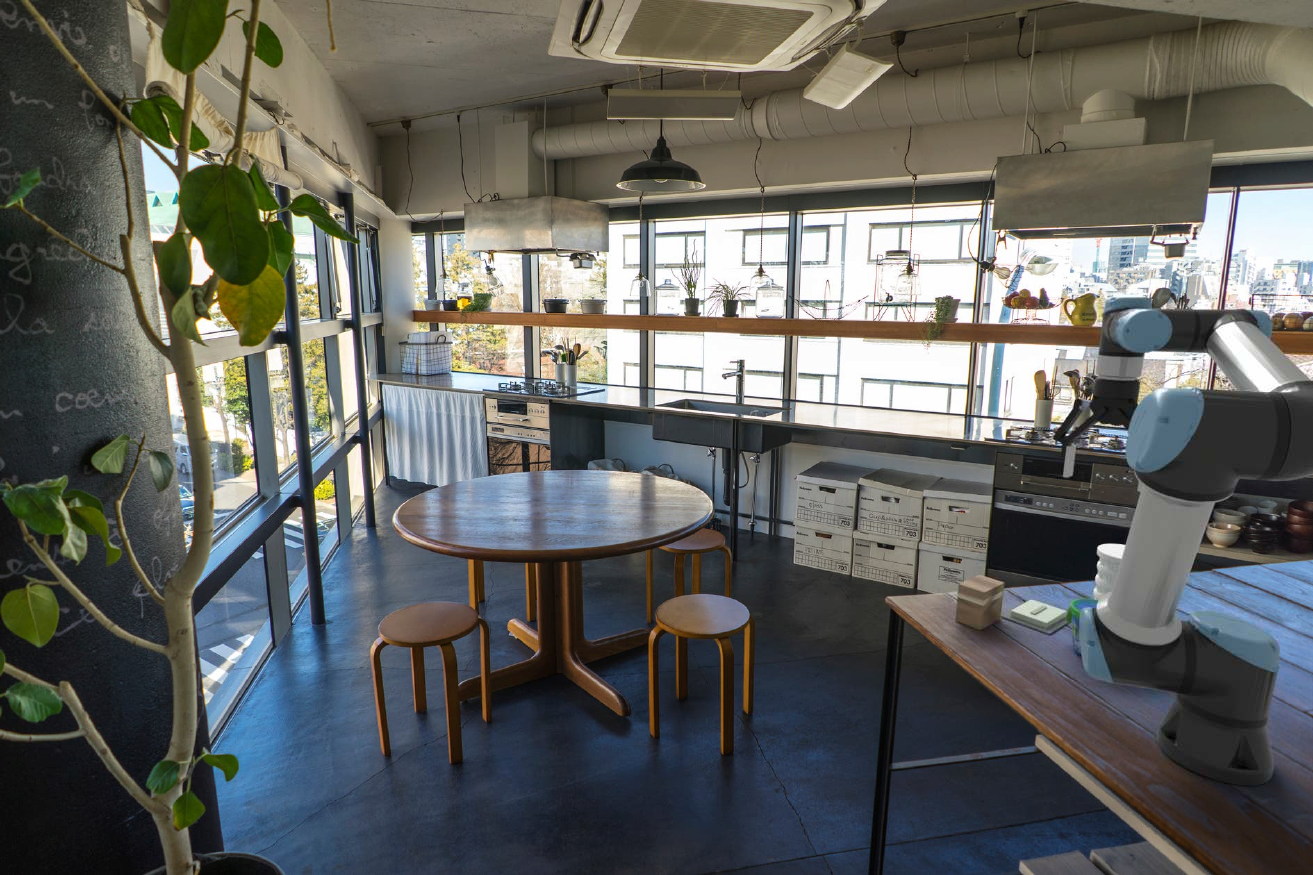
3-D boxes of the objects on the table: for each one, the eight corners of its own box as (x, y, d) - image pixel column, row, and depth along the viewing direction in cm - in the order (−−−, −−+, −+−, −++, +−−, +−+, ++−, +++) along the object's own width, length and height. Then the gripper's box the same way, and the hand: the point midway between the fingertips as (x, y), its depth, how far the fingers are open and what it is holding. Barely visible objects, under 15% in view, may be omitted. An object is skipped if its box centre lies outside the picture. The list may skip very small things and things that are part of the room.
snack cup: (1143, 673, 143) (1150, 626, 141) (1090, 673, 143) (1097, 626, 141) (1096, 636, 158) (1102, 593, 156) (1048, 636, 158) (1053, 593, 156)
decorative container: (1076, 625, 163) (1086, 550, 160) (1098, 611, 170) (1108, 539, 166) (1133, 644, 154) (1145, 566, 150) (1154, 629, 161) (1166, 554, 157)
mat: (1049, 634, 158) (1049, 633, 158) (1000, 617, 167) (1000, 615, 167) (1075, 618, 166) (1075, 617, 166) (1027, 602, 175) (1027, 601, 175)
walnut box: (980, 630, 160) (984, 592, 159) (954, 620, 165) (958, 583, 163) (1000, 619, 166) (1004, 582, 164) (975, 609, 171) (979, 574, 169)
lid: (1045, 628, 160) (1046, 621, 160) (1010, 616, 167) (1011, 609, 166) (1065, 616, 167) (1066, 609, 166) (1030, 604, 173) (1031, 598, 172)
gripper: (1201, 382, 132) (1183, 493, 136) (1059, 370, 151) (1047, 468, 156) (1187, 385, 128) (1169, 500, 132) (1042, 373, 147) (1031, 473, 151)
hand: (1103, 483), depth 144 cm, fingers open, 13 cm apart
